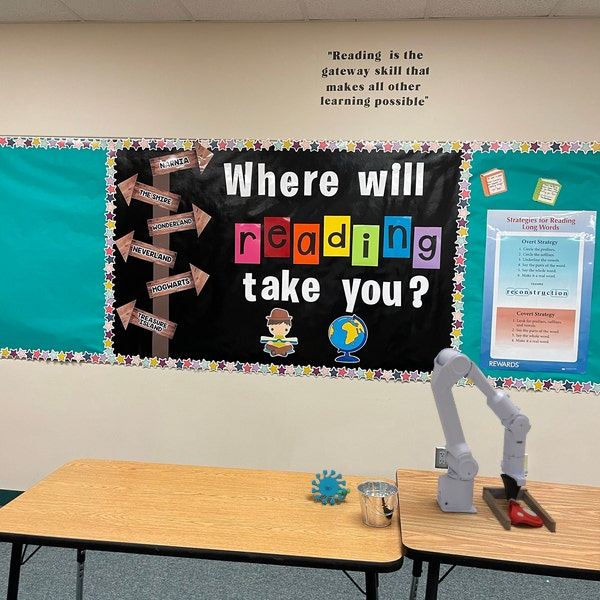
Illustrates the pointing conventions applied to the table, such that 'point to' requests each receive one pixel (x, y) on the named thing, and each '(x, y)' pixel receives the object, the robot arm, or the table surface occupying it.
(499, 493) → the frame
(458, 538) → the table surface
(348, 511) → the table surface
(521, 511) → the tracker holder
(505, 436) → the robot arm
